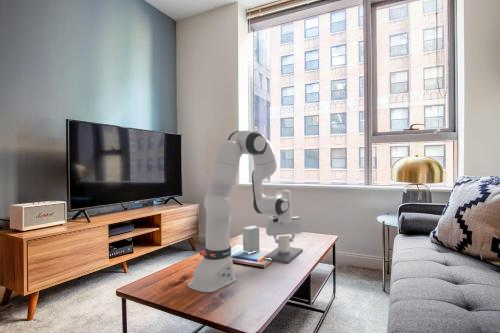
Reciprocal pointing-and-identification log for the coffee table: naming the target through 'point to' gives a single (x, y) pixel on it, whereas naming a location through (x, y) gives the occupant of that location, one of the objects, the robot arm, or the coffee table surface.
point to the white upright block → (284, 243)
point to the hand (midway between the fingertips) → (284, 242)
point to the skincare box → (251, 238)
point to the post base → (284, 255)
